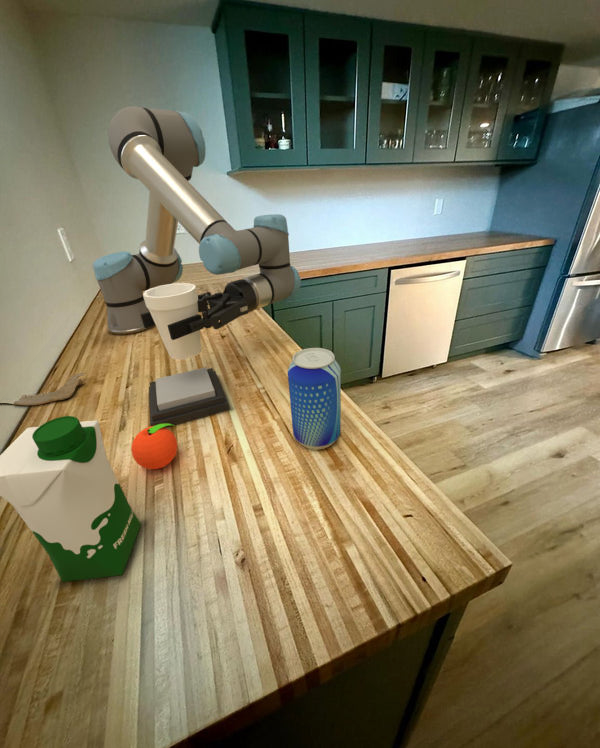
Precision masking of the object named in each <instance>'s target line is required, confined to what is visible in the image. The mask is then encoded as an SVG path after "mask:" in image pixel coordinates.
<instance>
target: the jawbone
mask: <svg viewBox="0 0 600 748" xmlns="http://www.w3.org/2000/svg"><path fill="white" fill-rule="evenodd" d="M83 376H85V372H79V373H76V374H74V375H72V376H70V377H69V378H68V379H67V380H66V382H65V383H64V384H63V386H61V387H60V388H58V389H55V390H54V391H51V392H50V391H48V392H41V393H37V394H28V395H27V394H22V395H21V396H22V397H21V398H20V399H19V401H15V402H14V404H13V405H16V406H41V405H45V404H48V403H52V402H57V401H62V400H66V399H67V400H68V399H69V398H71V397H72V396H73V395H74V394H75V391H76V389H77V387H79V386H83V383H84V381H83V379H82V378H80V377H83Z"/></svg>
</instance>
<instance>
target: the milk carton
mask: <svg viewBox="0 0 600 748" xmlns="http://www.w3.org/2000/svg"><path fill="white" fill-rule="evenodd" d="M0 497H1V498H2V499H3V500H5V501H6V502H7V503H9V504H10V505H11V506H12V507H13V508H14V509H15V511H16V512H17V514H18V515H19V516H20V517H21V519H22V520H23V521H24V523H25V524H26V526H27V527H28V529H29V530H30V531H31V533H32V534H33V535H34V537H35V538H36V539H37V541H38V542H39V543H40V545H41V546H42V548H43V549H44V550H45V552H46V553H47V555H48V556H49V558H50V561H51V563H52V565H53V567H54V569H55V570H56V573H57V574H58V576H59V578H60V580H61V582H62V583H67V582H74V581H75V582H76V581H83V580H93V579H100V578H107V577H108V578H109V577H110V578H111V577H117V576H123V575H124V572H125V570H126V567H127V564H128V561H129V558H130V557H131V556H130V555H131V553H132V550H133V547H134V545H135V542H136V539H137V537H138V535H139V534H138V533H139V531H140V529H141V526H142V524H141V521H140V520H139V518H138V517H137V514H136V513H135V512H134V510H133V508H132V507H131V505H130V503H129V501H128V499H127V497H126V494H125V493H124V490H123V488H122V486H121V484H120V481H119V480H118V478H117V475H116V474H115V471H114V469H113V467H112V465H111V462H110V460H109V458H108V455H107V451H106V447H105V444H104V439H103V435H102V430H101V425H100V421H99V420H97V419H96V420H87V421H86V420H85V421H80V420H79V418H77V417H76V416H73V415H65V416H60V417H56V418H53V419H51V420H48V421H46V422H44V423H42V424H41V425H39V426H30V427H27V428H25V429H24V430H23V431H22V433H20V434H19V436H17V438H15V440H14V441H13V442H12V443H11V444H10V445H9V446H8V447H7V448H6V449H5V450H4V451H3V452H2V453H1V454H0Z"/></svg>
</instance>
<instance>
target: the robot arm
mask: <svg viewBox="0 0 600 748" xmlns="http://www.w3.org/2000/svg"><path fill="white" fill-rule="evenodd" d="M107 131H108V132H107V139H108V144H109V147H110V151H111V154H112V156H113V157H114V159H115V161H116V162H117V164H118V165H119V166H120V168H121V169H122V170H123V171H124V172H125V173H126V174H127V175H128V176H129V177H131V178H132V179H135V180H139V181H140V183H142V185H143V186H144V187H145V188H146V189H147V190H148V191H149V193H148V194H149V195H148V207H147V219H146V229H145V231H146V232H145V239H144V240H143V241H141V243H140V245H139V252H138V253H136V254H132V253H131V252H130V251H118V252H112V253H109V254H105V255H103V256H101V257H99V258H97V259H95V260H94V262H93V263H92V267H93V268H92V269H93V271H94V277H95V280H96V281H97V284H98V286H99V289H100V292H101V295H102V297H103V301H104V302H105V305H106V309H107V310H106V312H107V313H106V314H107V315H106V316H107V317H106V318H107V319H106V321H107V322H106V325H107V329H108V332H109V333H110V334H113V335H118V336H119V335H120V336H123V335H131V334H137V333H140V332H144V331H146V330H148V329H151V328H153V327H154V326H155V327H156V325H155V322H154V320H153V318H152V316H151V313H150V311H149V309H148V308H147V307H146V304H145V300H144V297H143V293H144V292H145V291H147V290H149V289H151V288H154V287H158V286H161V285H167V284H175V283H177V282H178V281H180V279H181V278H182V276H183V271H184V266H183V264H182V263H183V260H182V257H181V256H180V254H179V253H178V251H177V249H176V248H175V243H176V238H177V231H178V227H179V226H178V225H179V224H180V226H182V228H183V229H184V230H186V232H187V233H188V234H189V235H190V236H191V237H192V238H193V239H194V240H195V241H196V243H197V244H199V246H198V256H199V259H200V261H202V264H203V265H202V266H203V267H204V268H205V269H206V271H207V272H209V274H212V275H215V276H219V275H220V276H221V275H225V274H231V273H235V272H237V271H240V270H243V269H246V268H249V267H253V266H257V265H258V268H259V273H256V274H253V275H248V276H246V277H243V278H241V279H237V280H234V281H231V282H228V283H227V284H226V285H225V287H224V290H223V292H215V293H214V294H212V293H211V291H206V292H203V293H201V294H197V295H198V301H197V304H198V315H195V316H192V317H189V318H186V319H183V320H181V321H178V322H175V323H172V324H169V325H167V326H168V330H169V333H170V337H171V339H172V340H175V339H178V338H180V337H183V336H185V335H188V334H191V333H193V332H196V331H198V330H200V331H202V330H203V329H212V328H213V330H219V329H221V328H223V327H224V326H227V325H228V324H229V323H231V322H233V321H234V320H236V319H238V318H240V317H242V316H245V315H249V313H252V312H253V311H256V310H257V311H261V309H262V308H264V307H267V306H270V305H271V304H274V303H277V302H280V301H282V300H283V301H284V300H286V299H289V298H290V297H292V296H294V295H295V294H297V293H298V292H299V291H300V289H301V285H302V279H301V276H300V274H299V271H298V270H297V269H296V267H294V266H293V265H291V257H290V240H289V236H290V233H289V228H288V220H287V218H286V217H285V215H283V214H263V215H258V216H255V217H254V218H253V227H250V228H245V229H239V230H236V229H235V228H234V227H233V226H232V225H231V224H230V223H229V222H228V221H227V220H226V219H225V218H224V217H223V216H222V215H221V213H219V212H218V211H217V210H216V209H215V208H214V207H213V205H211V204H210V202H209V201H207V199H206V198H205V197H204V196H203V195H202V194H201V193H200V192H199V191H198V190H197V189H196V188H195V187H194V186H193V185H192V184H191V182H189V181H191V180H192V177H193V170H194V168H198V167H200V166H201V165H203V164H204V162H205V160H206V153H207V152H206V151H207V149H206V147H207V146H206V142H205V136H204V135H203V131H202V129H201V126H200V124H199V123H198V122H197V120H196V118H194V117H193V116H192V115H191V114H189V113H187V112H184V111H179V110H176V109H172V110H170V109H161V108H149V107H141V106H134V105H133V106H127V107H124V108H122V109H120V110H118V111H117V112H116V113H115V114H114V115H113V116H112V119H111V120H110V123H109V126H108V130H107ZM199 313H201V314H199Z"/></svg>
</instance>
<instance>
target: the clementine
mask: <svg viewBox="0 0 600 748" xmlns="http://www.w3.org/2000/svg"><path fill="white" fill-rule="evenodd" d="M168 425H172V424H167V423H165V424H158V425H155V426H151V425H150V426H147V427H145V428H143V429H142V430H140V431H139V432H138V433H137V434H136V435H135V437H134V438H133V440H132V443H131V449H130V450H131V455H132V458H133V460H134V461H135V462H136V464H137V465H139V466H140V467H142V468H144V469H147V470H157V469H161V468H164V467H165V466H167V465H168V464H170V463H171V462H172V461H173V459H174V458H175V456H176V454H177V453H178V441H177V437H176V436H175V434H174V432H172V431H171V430H170V429H169V428H168V427H165V426H168ZM164 427H165V428H164ZM172 427H175V428H176V429H178V427H177V426H176V425H173V426H172Z"/></svg>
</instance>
